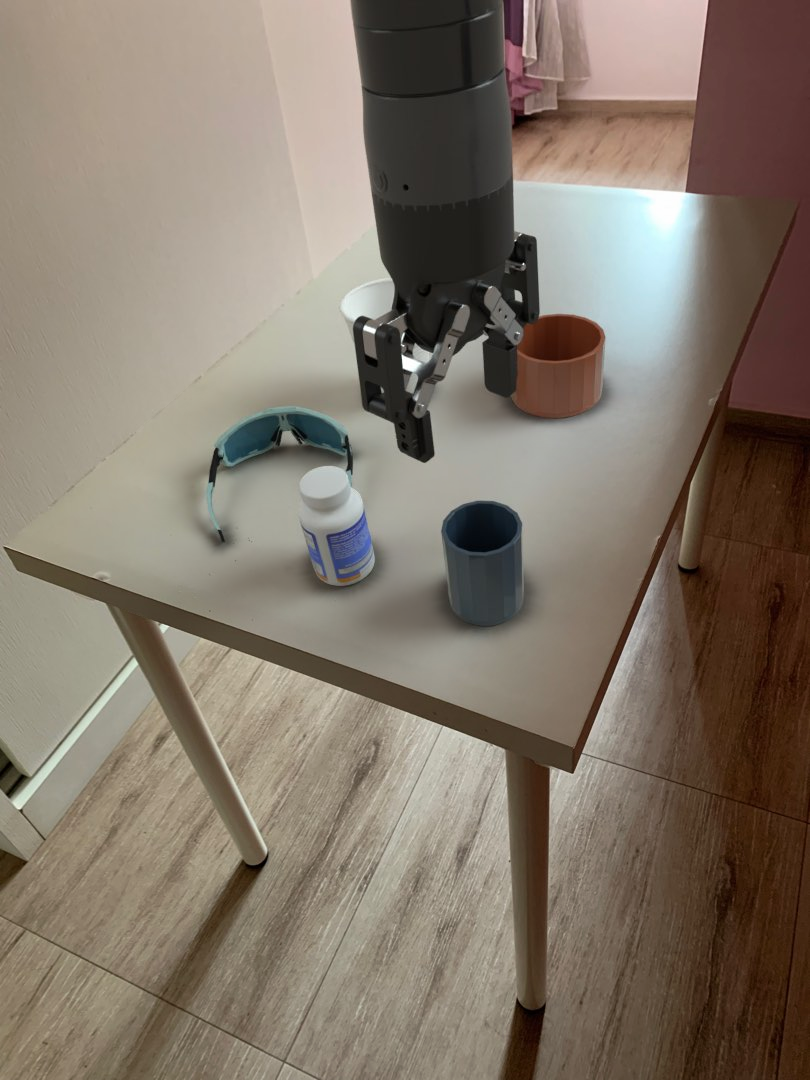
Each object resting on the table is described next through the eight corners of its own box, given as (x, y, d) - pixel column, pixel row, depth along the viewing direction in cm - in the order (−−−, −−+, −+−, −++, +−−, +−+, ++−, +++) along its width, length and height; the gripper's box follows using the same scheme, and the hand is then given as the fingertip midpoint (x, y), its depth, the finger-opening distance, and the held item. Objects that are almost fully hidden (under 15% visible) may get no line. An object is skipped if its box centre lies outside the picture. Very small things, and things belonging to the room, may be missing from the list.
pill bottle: (383, 547, 72) (366, 462, 65) (364, 592, 68) (345, 506, 62) (326, 540, 73) (304, 456, 67) (305, 584, 70) (280, 499, 63)
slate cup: (538, 600, 65) (538, 529, 60) (480, 638, 63) (475, 567, 58) (491, 560, 69) (487, 489, 64) (435, 595, 67) (426, 524, 62)
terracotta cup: (620, 391, 85) (625, 336, 80) (552, 429, 81) (553, 374, 77) (558, 357, 91) (559, 304, 86) (492, 391, 87) (490, 338, 83)
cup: (461, 377, 90) (453, 285, 82) (414, 426, 84) (402, 332, 77) (387, 359, 95) (373, 270, 87) (338, 405, 89) (319, 314, 81)
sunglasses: (358, 434, 84) (350, 398, 80) (355, 546, 75) (346, 512, 71) (226, 446, 85) (212, 411, 82) (207, 558, 76) (190, 525, 72)
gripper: (402, 238, 37) (434, 503, 48) (578, 135, 44) (570, 388, 55) (293, 208, 41) (346, 459, 52) (470, 118, 48) (483, 357, 59)
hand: (461, 422), depth 53 cm, fingers open, 8 cm apart
